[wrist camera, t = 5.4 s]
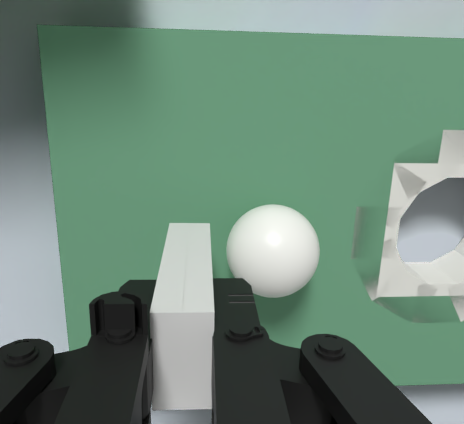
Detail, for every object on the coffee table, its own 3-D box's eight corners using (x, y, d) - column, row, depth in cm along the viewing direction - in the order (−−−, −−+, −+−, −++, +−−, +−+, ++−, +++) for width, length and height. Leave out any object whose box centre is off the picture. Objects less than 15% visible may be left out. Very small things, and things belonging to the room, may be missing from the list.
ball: (253, 324, 15) (334, 303, 17) (259, 227, 14) (345, 215, 16) (209, 281, 18) (282, 267, 20) (212, 198, 17) (288, 190, 19)
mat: (86, 362, 23) (73, 396, 20) (57, 31, 18) (36, 24, 16) (522, 351, 25) (557, 380, 22) (599, 48, 20) (653, 44, 18)
